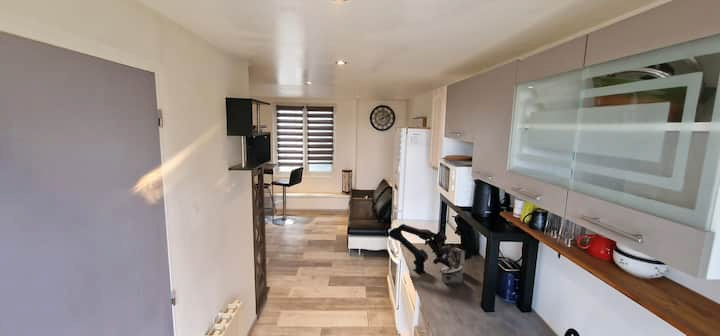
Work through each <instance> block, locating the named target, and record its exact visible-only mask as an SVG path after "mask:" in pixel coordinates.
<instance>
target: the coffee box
mask: <svg viewBox="0 0 720 336" xmlns="http://www.w3.org/2000/svg"><path fill="white" fill-rule="evenodd" d="M448 254H449V255H448V260H449V262H450V263H452V264H456V263H460V264H461V265H462V268H461V269H460V270H459V271H461V272H462V274H464V273H465V262H466V260H465V259H466V250H464V249H461V248H459V247H456V246H453V247H451V252H449V253H448Z"/></svg>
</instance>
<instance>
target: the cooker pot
mask: <svg viewBox="0 0 720 336" xmlns="http://www.w3.org/2000/svg"><path fill="white" fill-rule="evenodd" d="M439 272H440V273H441V282H442V283H443V284H444V285H447V286H449V287H453V288H454V287H455V288H456V286H457V287H459V286H462V285H463V276H464V275H463V274H464V273H462V272H461V271H459V270H458V271H456V272H452V273H443V272H442V271H441V269H440V270H439Z"/></svg>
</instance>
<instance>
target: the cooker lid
mask: <svg viewBox="0 0 720 336" xmlns="http://www.w3.org/2000/svg"><path fill="white" fill-rule="evenodd" d="M450 265H451V267H450V268H449V267H447V266H446V265H444V266H442V267H441V269H440V270H441V271H442V272H443V273H452V272H456V271H458V270H460V269H461V268H462V265H461V264H460V263H456V264H452V263H450Z"/></svg>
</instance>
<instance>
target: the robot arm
mask: <svg viewBox="0 0 720 336" xmlns="http://www.w3.org/2000/svg"><path fill="white" fill-rule="evenodd" d="M402 232H405V233H409V234H412V235H415V236H417V237H418V238H419V239H421V240H424V242H425V243H424V245H425V246H427V245H428V247H429V248H430V249H431V250H432V251H431V252H432V253H434V255H435V258H434V259H433V260H432V261H433V264H434V265H437V264H443V265H444V266H447V267H449V268H450V267H451V265H450V262H449V253H450V252H451V248H452V246H451V245H450V244H449V243H446V244H445V245H444V246H442V243H444V242H446V241H447V239H448V238H447V237H448V236H447V235H446V233H444V232H443V231H441V230H439V231H438V232H436V233H435V232H432V231H431V230H430V229H425V228H424V229H423V228H422V229H420V228H417V227H414V226H410V225H407V224H405V223H402V224H400V225H399V226H397V227H394V228H392V229H389V231H388V235H389V237H390V238H392V239H393V240H395V241H398V242H399V243H400V244H401V245H403V246H404V247H405V248H406V249H407V250H408V251H409V252H410V253H411V254H412V255H413V256H414V258H415V260H414V261H413V265H415V268H413V271H414V272H415V273H416V274H417V275H420V274H426V270H425V262H427V261H428V259H429V255H428V254H427V251H425V250H424V249H423V248H421V249H418V247H416V246H415V245H414V244H413V243H412V242H411V241H409V240H408V239H407V238H406V237H405V236H404V235H403V233H402Z"/></svg>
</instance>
